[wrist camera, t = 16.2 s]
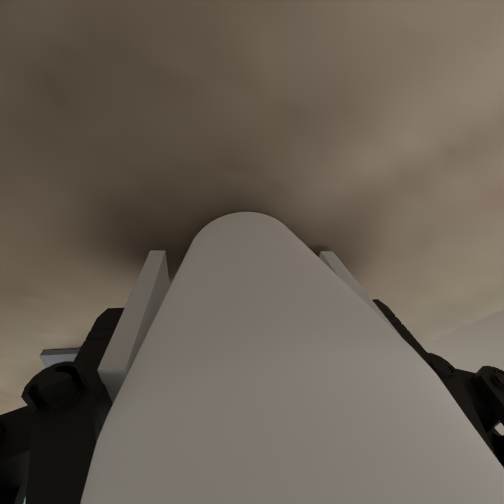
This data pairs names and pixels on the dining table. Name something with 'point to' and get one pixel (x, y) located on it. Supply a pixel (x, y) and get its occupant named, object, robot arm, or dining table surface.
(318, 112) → the dining table surface
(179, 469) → the cup
